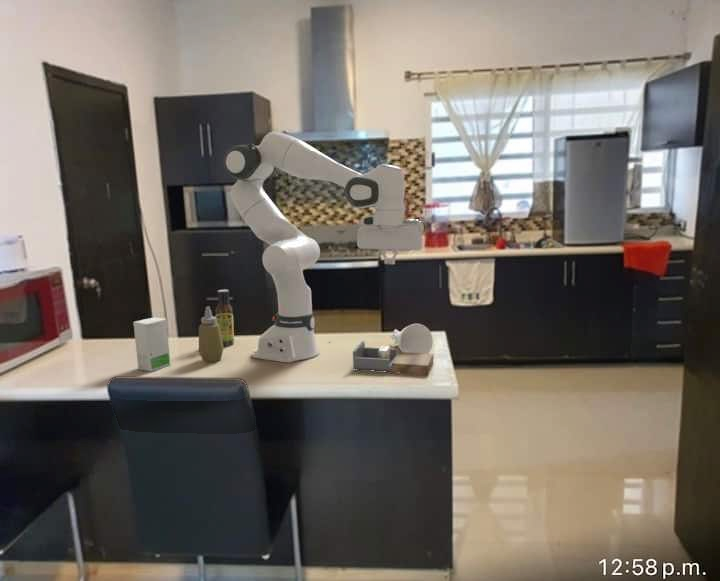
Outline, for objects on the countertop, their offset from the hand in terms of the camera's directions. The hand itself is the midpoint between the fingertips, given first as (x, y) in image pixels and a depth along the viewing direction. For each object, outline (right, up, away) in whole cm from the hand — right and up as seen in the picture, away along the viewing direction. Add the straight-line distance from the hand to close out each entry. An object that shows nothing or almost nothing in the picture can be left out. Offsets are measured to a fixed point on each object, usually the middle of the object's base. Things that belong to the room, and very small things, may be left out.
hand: (389, 263), depth 174 cm
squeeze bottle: (-58, -31, +13) cm, 67 cm away
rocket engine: (+8, -29, +17) cm, 34 cm away
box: (-4, -32, +3) cm, 32 cm away
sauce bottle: (-58, -28, +30) cm, 71 cm away
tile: (0, -29, +1) cm, 29 cm away
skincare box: (-75, -33, +7) cm, 82 cm away
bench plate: (+7, -32, -1) cm, 33 cm away
